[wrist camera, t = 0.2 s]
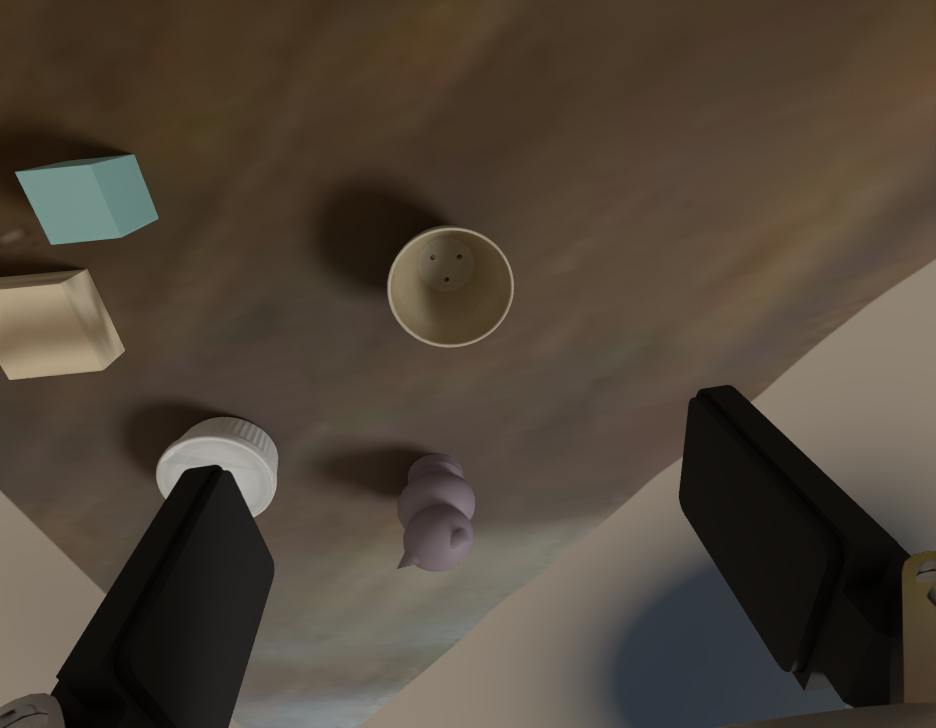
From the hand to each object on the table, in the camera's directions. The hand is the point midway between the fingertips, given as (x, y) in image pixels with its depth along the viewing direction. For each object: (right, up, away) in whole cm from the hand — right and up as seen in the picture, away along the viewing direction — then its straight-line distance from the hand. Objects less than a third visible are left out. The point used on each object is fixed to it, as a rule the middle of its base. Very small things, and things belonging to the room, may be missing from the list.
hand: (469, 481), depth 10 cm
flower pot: (-2, +12, +35) cm, 37 cm away
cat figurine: (-4, -10, +47) cm, 49 cm away
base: (-37, +7, +35) cm, 51 cm away
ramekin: (-25, -7, +43) cm, 51 cm away
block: (-29, +16, +30) cm, 45 cm away
